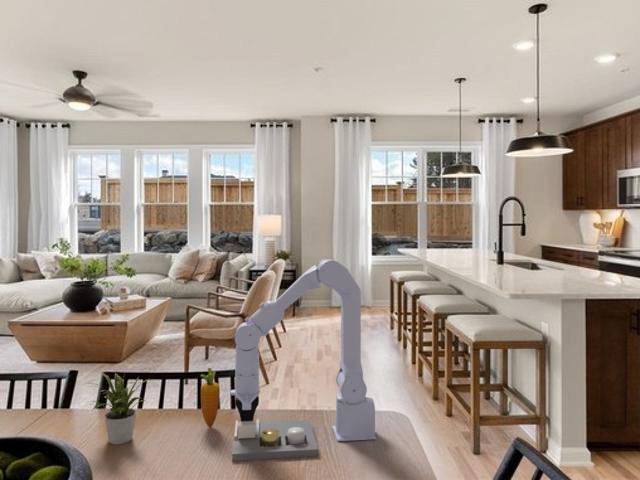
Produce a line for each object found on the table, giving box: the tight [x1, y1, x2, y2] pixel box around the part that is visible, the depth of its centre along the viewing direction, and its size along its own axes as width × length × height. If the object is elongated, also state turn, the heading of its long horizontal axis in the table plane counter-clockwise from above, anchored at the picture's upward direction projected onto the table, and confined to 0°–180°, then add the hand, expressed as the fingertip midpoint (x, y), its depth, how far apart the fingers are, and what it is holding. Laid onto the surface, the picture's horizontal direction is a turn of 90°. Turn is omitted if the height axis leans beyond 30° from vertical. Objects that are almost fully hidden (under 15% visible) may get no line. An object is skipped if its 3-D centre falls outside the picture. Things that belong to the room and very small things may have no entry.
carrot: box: [200, 367, 220, 428], centre depth 119 cm, size 5×5×15 cm
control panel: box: [231, 419, 319, 462], centre depth 112 cm, size 19×16×2 cm
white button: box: [287, 427, 306, 446], centre depth 109 cm, size 4×4×2 cm
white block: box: [238, 420, 256, 439], centre depth 111 cm, size 4×2×3 cm, turn 98°
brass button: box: [261, 429, 280, 447], centre depth 109 cm, size 4×4×2 cm
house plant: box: [86, 372, 150, 445], centre depth 112 cm, size 14×14×16 cm
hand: (247, 428), depth 114 cm, fingers closed
